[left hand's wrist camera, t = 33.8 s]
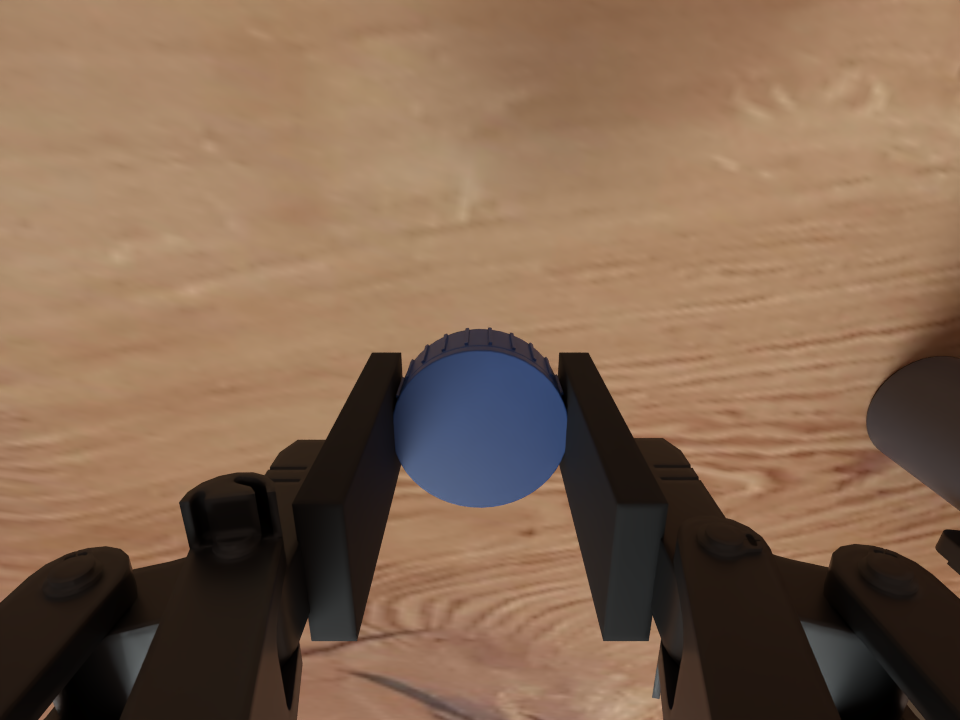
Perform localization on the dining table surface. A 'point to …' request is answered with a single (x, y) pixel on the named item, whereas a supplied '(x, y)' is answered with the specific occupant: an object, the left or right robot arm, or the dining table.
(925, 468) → the bottle
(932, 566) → the dining table surface
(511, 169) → the dining table surface
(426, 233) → the dining table surface
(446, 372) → the cap
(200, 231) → the dining table surface
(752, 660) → the left robot arm
